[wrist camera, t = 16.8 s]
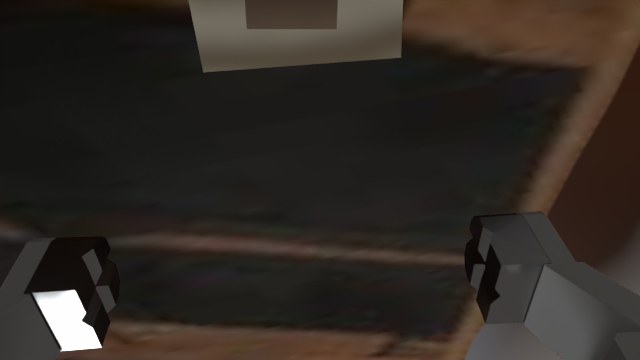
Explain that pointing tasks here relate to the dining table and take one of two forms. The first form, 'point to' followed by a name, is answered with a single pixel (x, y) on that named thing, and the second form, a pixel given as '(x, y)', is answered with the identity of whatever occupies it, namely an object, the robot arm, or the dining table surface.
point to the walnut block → (291, 14)
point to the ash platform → (295, 36)
